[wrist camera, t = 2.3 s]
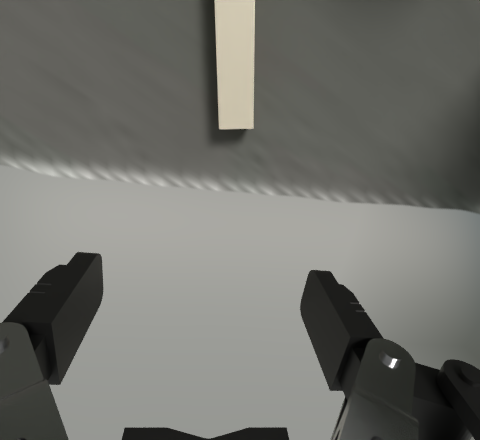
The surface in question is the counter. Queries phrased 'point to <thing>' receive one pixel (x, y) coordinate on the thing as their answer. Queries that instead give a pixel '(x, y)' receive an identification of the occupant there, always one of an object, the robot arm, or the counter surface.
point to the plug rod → (235, 62)
